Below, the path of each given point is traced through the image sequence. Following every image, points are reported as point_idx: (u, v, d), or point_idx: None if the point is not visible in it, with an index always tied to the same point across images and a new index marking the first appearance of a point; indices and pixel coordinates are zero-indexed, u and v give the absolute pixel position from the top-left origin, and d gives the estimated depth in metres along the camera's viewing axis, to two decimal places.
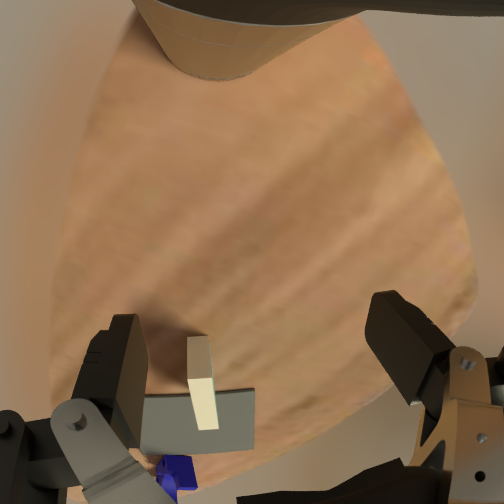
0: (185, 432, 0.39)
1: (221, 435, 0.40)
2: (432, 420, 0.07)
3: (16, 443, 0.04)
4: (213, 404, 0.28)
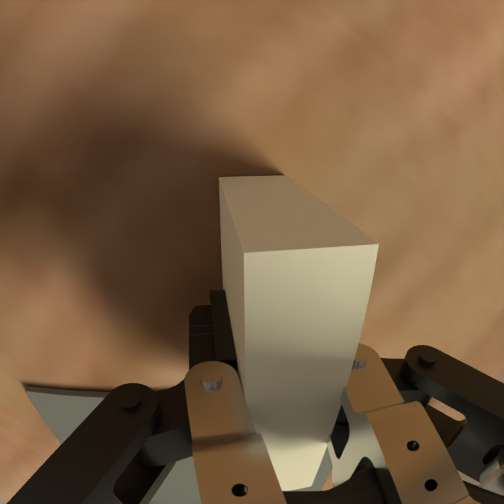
0: (195, 475, 0.17)
1: None
2: (337, 425, 0.07)
3: (150, 415, 0.06)
4: (333, 410, 0.07)
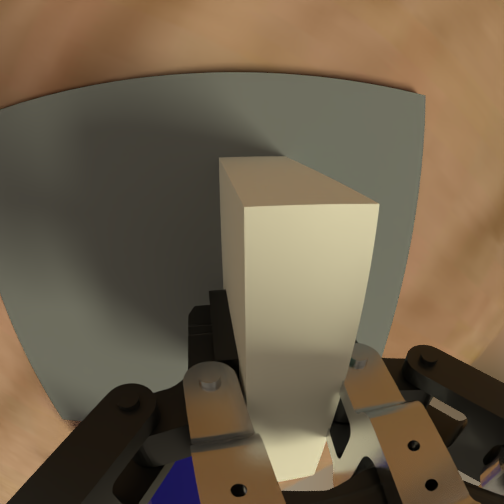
0: (178, 314, 0.12)
1: None
2: (338, 425, 0.07)
3: (149, 415, 0.06)
4: (336, 387, 0.06)
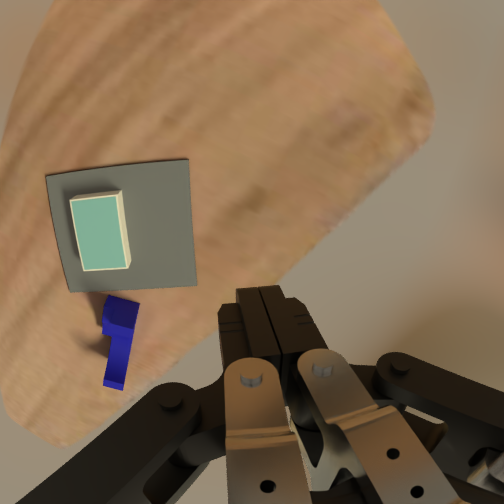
0: None
1: (155, 247, 0.37)
2: (309, 433, 0.07)
3: (193, 414, 0.06)
4: (75, 233, 0.33)
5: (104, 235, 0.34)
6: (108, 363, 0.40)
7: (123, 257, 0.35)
